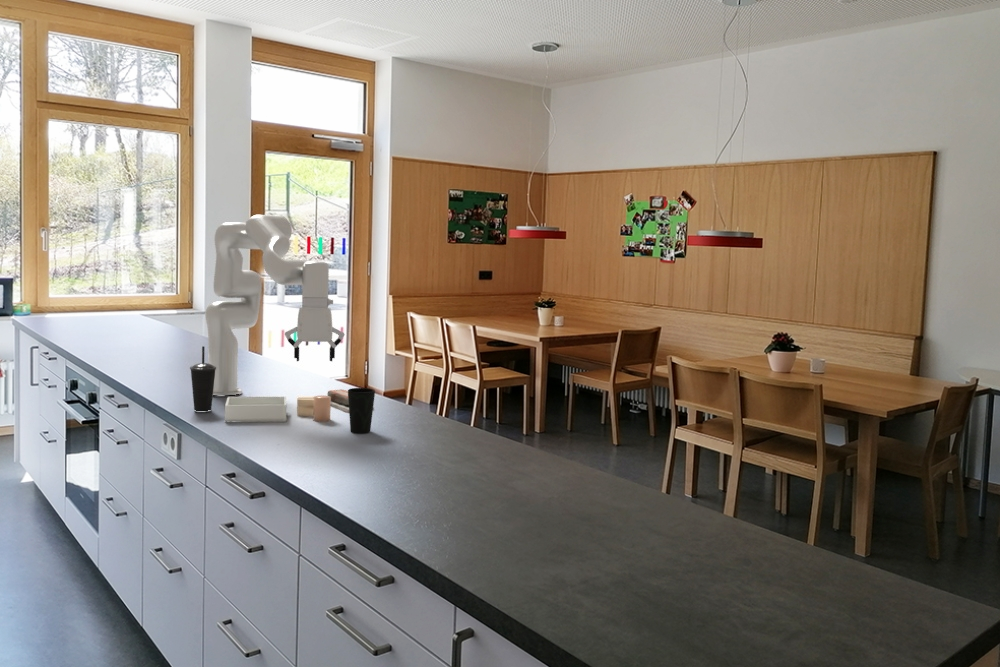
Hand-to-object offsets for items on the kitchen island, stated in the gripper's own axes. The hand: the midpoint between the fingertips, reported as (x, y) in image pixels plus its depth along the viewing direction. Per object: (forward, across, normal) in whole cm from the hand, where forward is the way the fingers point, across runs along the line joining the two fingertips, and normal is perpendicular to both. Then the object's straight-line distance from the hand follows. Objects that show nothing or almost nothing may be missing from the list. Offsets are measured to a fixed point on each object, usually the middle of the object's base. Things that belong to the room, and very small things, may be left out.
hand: (314, 360), depth 243 cm
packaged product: (+19, -11, -21) cm, 30 cm away
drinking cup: (+18, +33, -14) cm, 40 cm away
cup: (+18, -13, +15) cm, 27 cm away
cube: (+18, +2, -10) cm, 21 cm away
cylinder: (+18, -2, -1) cm, 18 cm away
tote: (+18, +17, -5) cm, 25 cm away
